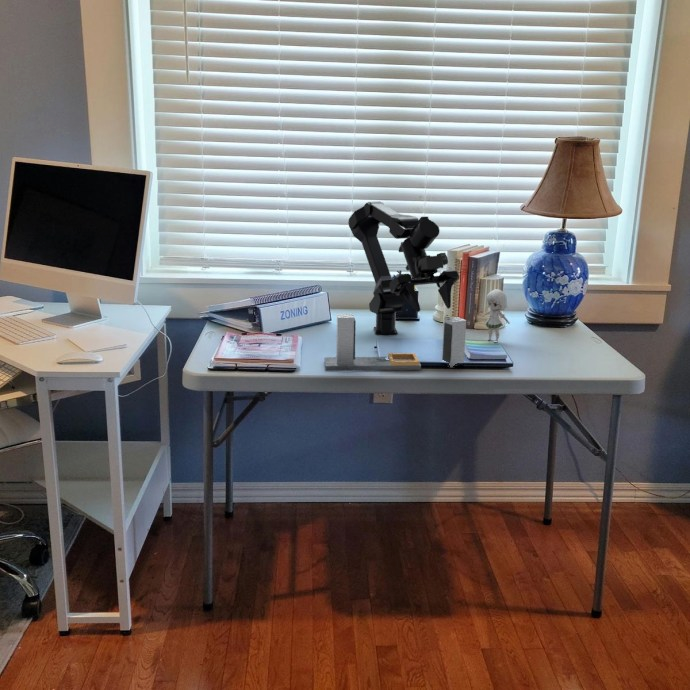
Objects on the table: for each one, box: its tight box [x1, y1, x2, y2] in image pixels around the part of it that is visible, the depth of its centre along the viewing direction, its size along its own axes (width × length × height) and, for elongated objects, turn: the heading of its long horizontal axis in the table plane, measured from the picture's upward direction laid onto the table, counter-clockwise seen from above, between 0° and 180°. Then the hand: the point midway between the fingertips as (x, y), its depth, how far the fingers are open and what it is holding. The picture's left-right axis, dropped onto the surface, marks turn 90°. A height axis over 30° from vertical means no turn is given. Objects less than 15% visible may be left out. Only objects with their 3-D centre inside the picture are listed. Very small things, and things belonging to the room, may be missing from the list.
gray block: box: [441, 316, 467, 368], centre depth 198 cm, size 4×4×12 cm
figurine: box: [481, 288, 511, 343], centre depth 219 cm, size 10×6×15 cm, turn 40°
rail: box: [324, 313, 422, 371], centre depth 196 cm, size 7×24×13 cm, turn 94°
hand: (434, 309), depth 203 cm, fingers open, 9 cm apart
